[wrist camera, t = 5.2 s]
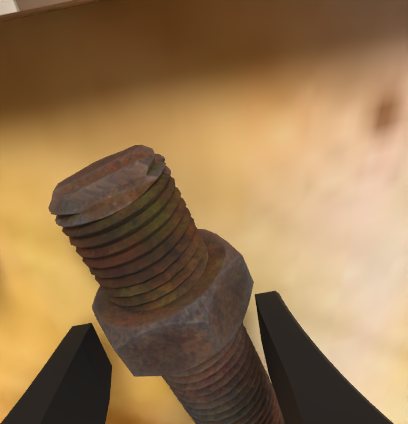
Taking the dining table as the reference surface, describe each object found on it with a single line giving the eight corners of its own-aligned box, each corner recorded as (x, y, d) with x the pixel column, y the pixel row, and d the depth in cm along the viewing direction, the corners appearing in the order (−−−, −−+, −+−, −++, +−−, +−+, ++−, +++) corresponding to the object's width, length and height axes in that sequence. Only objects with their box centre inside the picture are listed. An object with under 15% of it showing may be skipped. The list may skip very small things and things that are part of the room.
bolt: (142, 119, 13) (269, 383, 19) (1, 195, 11) (193, 453, 18) (240, 128, 8) (364, 477, 14) (10, 268, 6) (270, 585, 13)
